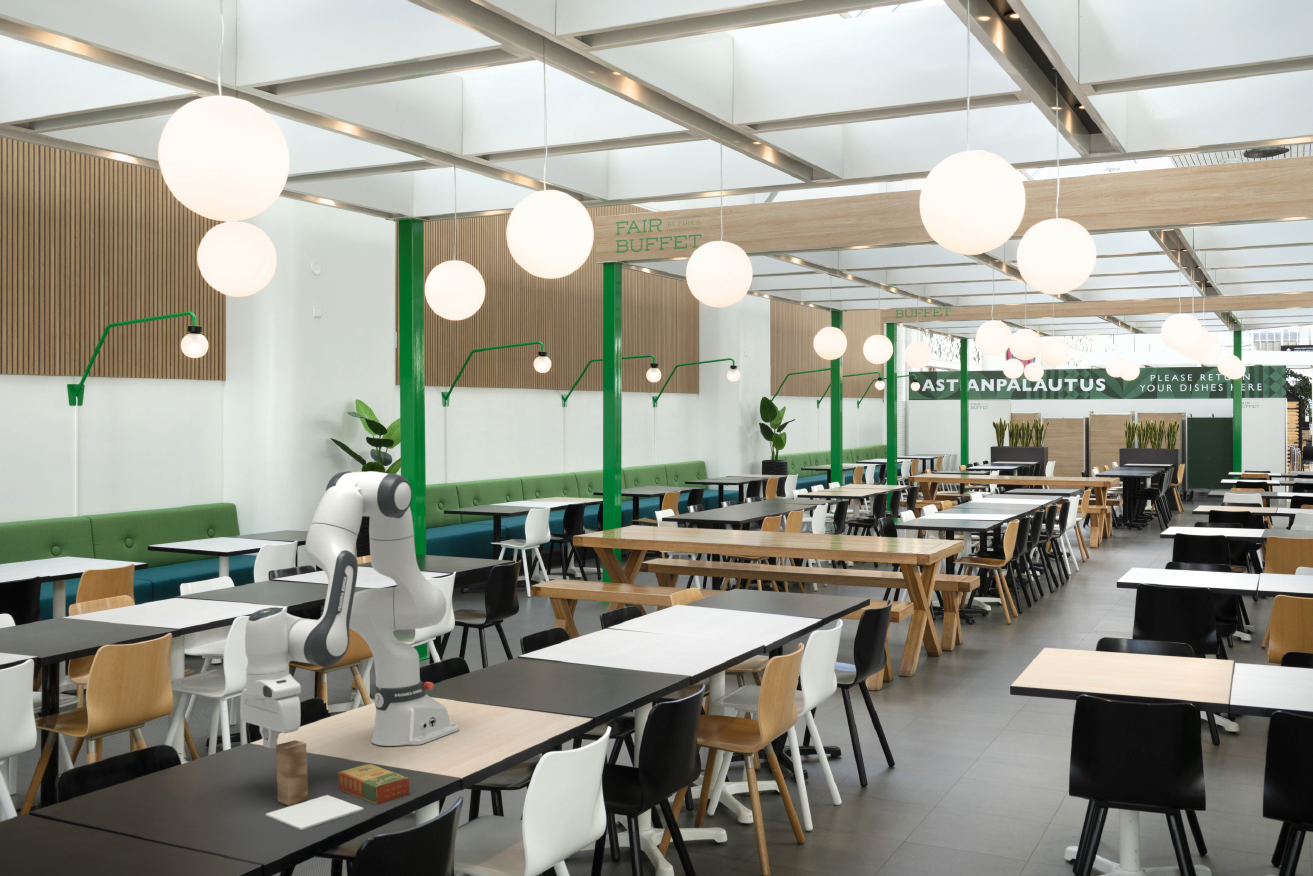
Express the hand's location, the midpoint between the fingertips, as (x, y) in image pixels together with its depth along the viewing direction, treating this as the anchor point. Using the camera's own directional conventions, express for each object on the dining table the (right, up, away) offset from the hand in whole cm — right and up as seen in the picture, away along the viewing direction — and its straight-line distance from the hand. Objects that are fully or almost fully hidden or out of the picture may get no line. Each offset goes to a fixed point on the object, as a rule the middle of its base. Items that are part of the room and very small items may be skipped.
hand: (270, 747), depth 227 cm
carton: (+23, -10, -1) cm, 25 cm away
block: (+7, -10, -6) cm, 13 cm away
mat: (+14, -10, -14) cm, 22 cm away
